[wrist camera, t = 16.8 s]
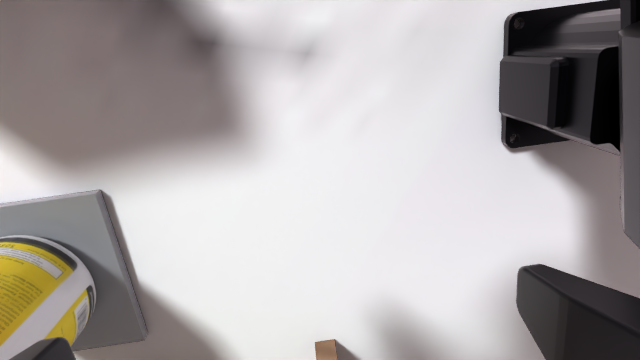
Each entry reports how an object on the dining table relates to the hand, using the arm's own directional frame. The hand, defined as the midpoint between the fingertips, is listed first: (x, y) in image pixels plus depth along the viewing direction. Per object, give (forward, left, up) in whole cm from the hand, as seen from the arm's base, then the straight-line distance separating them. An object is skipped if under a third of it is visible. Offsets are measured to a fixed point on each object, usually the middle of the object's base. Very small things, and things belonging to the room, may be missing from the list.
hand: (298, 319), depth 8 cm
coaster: (+14, +5, -13) cm, 20 cm away
